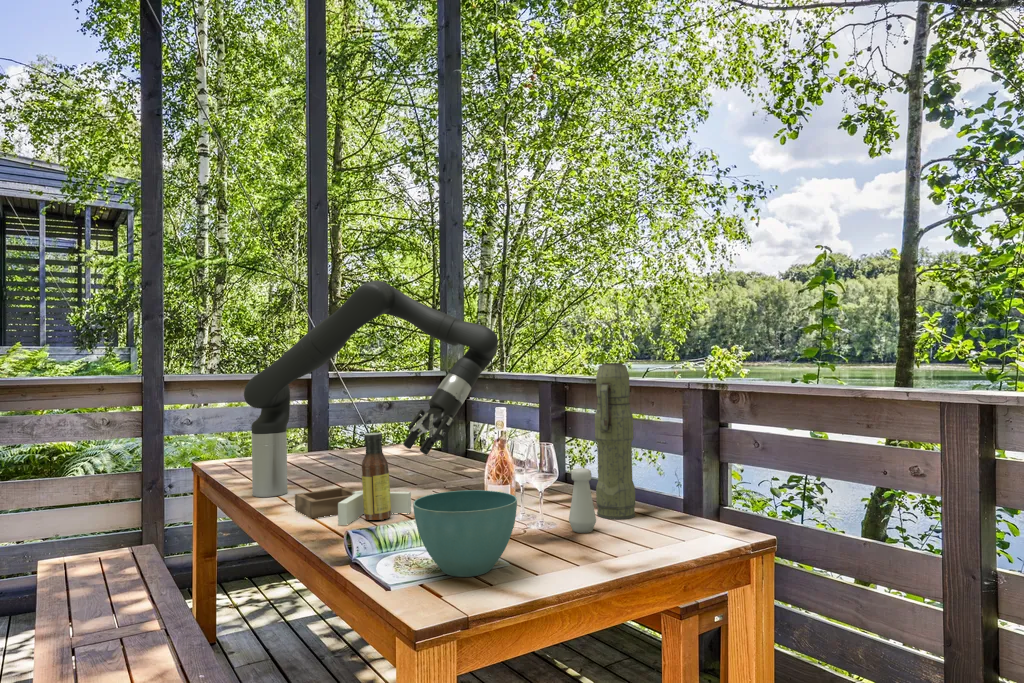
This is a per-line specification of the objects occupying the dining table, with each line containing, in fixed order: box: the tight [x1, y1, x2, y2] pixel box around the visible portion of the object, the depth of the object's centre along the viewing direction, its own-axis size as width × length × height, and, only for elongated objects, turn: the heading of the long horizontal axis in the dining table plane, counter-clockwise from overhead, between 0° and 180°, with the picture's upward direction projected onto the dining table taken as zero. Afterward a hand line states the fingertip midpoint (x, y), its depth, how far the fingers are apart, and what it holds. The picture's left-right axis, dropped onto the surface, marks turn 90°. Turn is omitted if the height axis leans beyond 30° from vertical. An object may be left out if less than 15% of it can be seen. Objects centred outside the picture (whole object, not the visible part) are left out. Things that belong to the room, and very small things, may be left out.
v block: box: [337, 489, 412, 526], centre depth 161 cm, size 11×18×5 cm, turn 127°
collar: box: [294, 486, 356, 519], centre depth 168 cm, size 12×13×4 cm
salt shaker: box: [568, 467, 597, 534], centre depth 144 cm, size 6×6×13 cm
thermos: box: [594, 362, 636, 520], centre depth 157 cm, size 9×12×35 cm
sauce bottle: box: [361, 432, 392, 521], centre depth 158 cm, size 7×6×20 cm
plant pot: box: [412, 489, 518, 578], centre depth 119 cm, size 18×18×12 cm
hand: (414, 449), depth 166 cm, fingers open, 8 cm apart
